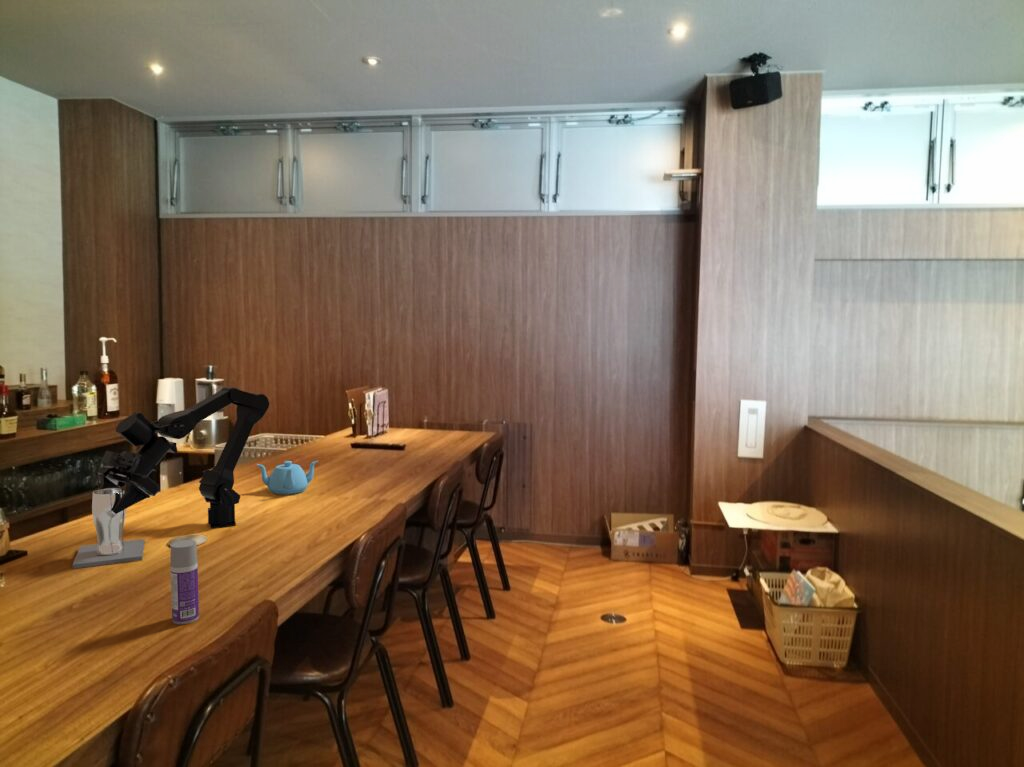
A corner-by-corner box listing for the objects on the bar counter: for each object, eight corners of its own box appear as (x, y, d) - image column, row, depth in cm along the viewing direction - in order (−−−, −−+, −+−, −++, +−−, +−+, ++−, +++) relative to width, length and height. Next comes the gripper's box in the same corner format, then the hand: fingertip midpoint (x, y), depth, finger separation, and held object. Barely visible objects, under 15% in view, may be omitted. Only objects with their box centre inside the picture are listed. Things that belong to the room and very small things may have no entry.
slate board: (144, 542, 172) (144, 538, 172) (142, 560, 160) (142, 556, 160) (80, 549, 166) (80, 546, 166) (72, 568, 153) (72, 564, 153)
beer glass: (86, 554, 160) (84, 493, 159) (111, 545, 167) (108, 486, 165) (110, 557, 158) (108, 495, 157) (133, 548, 165) (131, 488, 163)
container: (203, 613, 131) (201, 539, 130) (192, 624, 127) (190, 547, 125) (179, 613, 131) (176, 539, 130) (167, 624, 127) (165, 547, 125)
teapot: (288, 484, 236) (287, 455, 235) (321, 489, 230) (320, 459, 229) (256, 493, 223) (255, 463, 222) (290, 499, 216) (289, 467, 215)
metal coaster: (206, 534, 179) (206, 533, 179) (207, 545, 171) (207, 543, 171) (168, 539, 175) (168, 537, 175) (168, 549, 167) (168, 547, 167)
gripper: (104, 434, 169) (57, 485, 160) (145, 442, 159) (98, 497, 151) (136, 459, 176) (93, 510, 168) (177, 468, 166) (134, 522, 158)
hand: (104, 509), depth 161 cm, fingers open, 9 cm apart
